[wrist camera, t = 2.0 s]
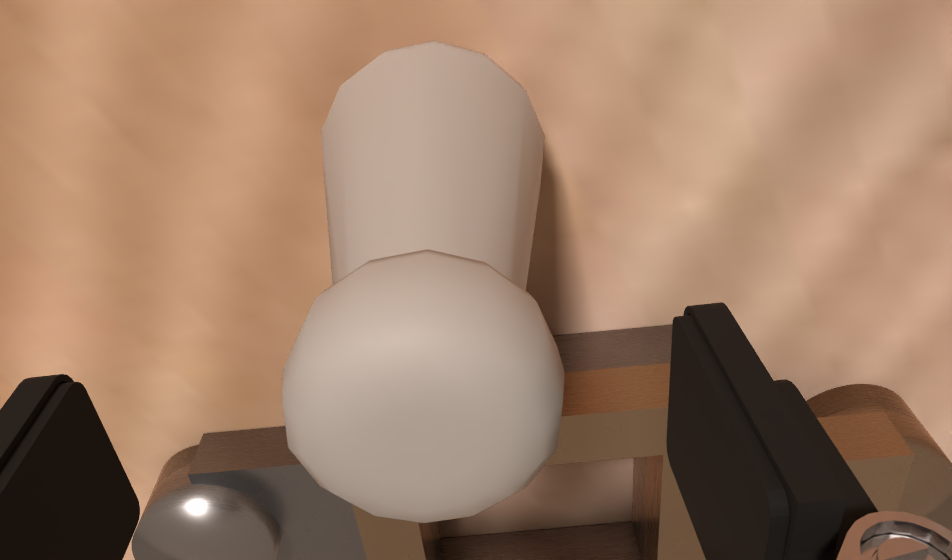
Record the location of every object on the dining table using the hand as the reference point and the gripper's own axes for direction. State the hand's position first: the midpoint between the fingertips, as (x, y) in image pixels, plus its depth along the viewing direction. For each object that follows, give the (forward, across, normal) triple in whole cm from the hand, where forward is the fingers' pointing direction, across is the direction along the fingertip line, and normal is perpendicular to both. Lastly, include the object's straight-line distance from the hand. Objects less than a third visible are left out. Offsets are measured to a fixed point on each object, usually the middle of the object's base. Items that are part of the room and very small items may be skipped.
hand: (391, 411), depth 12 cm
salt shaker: (+12, -1, -1) cm, 12 cm away
